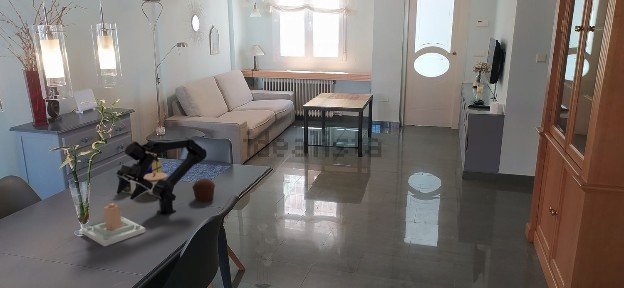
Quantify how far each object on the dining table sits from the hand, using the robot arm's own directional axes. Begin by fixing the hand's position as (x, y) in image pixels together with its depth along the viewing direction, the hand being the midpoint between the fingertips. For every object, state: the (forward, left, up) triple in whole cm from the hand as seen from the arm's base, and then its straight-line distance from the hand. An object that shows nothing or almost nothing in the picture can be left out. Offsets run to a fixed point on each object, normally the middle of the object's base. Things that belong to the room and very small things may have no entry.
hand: (124, 196), depth 205 cm
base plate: (-4, +8, -13) cm, 16 cm away
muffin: (+1, -43, -14) cm, 46 cm away
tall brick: (-4, +8, -11) cm, 14 cm away
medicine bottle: (+40, -25, -14) cm, 50 cm away
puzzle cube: (+56, -46, -14) cm, 74 cm away
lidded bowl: (+28, -32, -14) cm, 45 cm away
